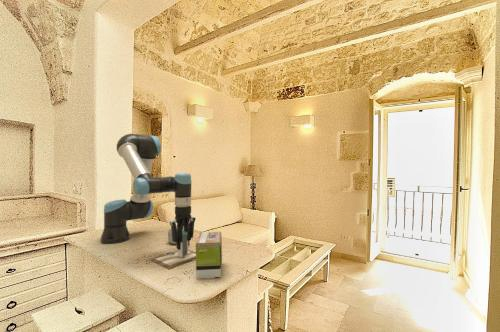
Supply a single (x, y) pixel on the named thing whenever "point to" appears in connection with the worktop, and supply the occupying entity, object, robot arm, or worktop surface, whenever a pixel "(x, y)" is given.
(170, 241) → the teacup
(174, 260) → the clipboard
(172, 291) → the worktop surface
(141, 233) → the worktop surface
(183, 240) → the marker
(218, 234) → the tea box
